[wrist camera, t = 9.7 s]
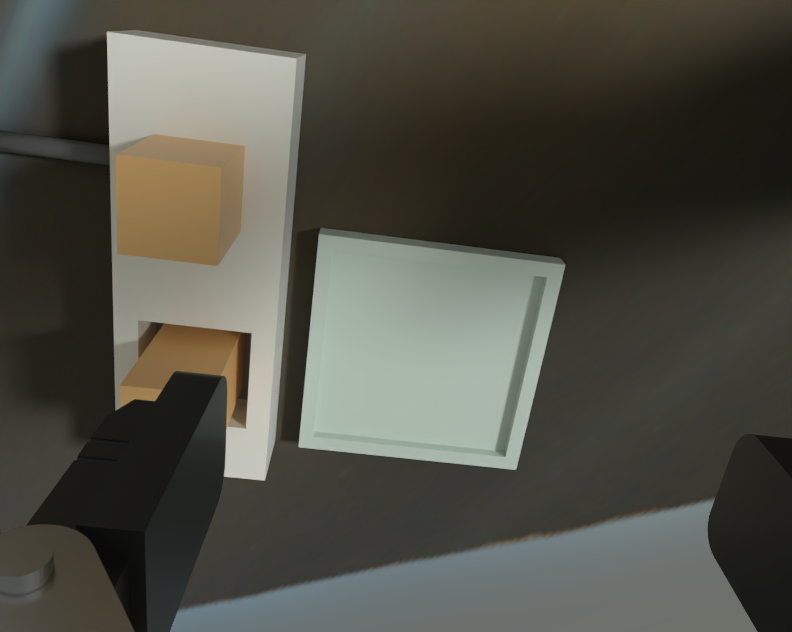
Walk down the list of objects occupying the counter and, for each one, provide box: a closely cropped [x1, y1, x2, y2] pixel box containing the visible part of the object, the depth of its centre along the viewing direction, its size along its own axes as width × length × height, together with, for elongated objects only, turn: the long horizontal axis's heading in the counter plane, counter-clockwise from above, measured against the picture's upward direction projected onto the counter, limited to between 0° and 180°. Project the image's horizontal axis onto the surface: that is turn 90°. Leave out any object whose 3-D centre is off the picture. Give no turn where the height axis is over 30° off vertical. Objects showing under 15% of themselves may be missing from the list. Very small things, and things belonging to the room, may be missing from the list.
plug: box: [120, 323, 245, 429], centre depth 35 cm, size 4×4×8 cm
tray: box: [299, 228, 565, 470], centre depth 40 cm, size 13×13×1 cm
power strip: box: [0, 30, 306, 481], centre depth 33 cm, size 16×22×9 cm
